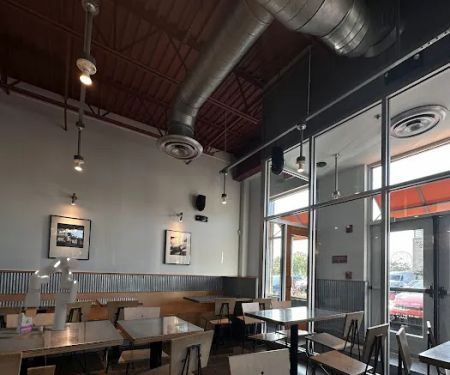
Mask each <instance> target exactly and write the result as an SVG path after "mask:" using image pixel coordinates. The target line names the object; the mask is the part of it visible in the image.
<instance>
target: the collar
mask: <svg viewBox="0 0 450 375" xmlns="http://www.w3.org/2000/svg"><path fill="white" fill-rule="evenodd" d="M36 310H37V308H27V309H26V315H25V317H33V318H36V316H37V315H36Z"/></svg>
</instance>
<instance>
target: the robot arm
mask: <svg viewBox="0 0 450 375" xmlns="http://www.w3.org/2000/svg"><path fill="white" fill-rule="evenodd" d="M78 260H79V259H76V258H74V257H72V256H71V257H70V256H57V257H55V259H53V260H52V262H50V263H49V264H48V265H45V266H43V267H41V268H39V269H37V270H35V272H33V274H32V275H30V278H29V283H28V284H29V285H28V292H27V293H26V296H25V300H24V301H23V302H22V303H21V304H20V305H19V306H20V308H22V310H23V313H24V314H25V315H26V310H27V309H28V308H29V307H30V308H31V307H34V308H35V307H36V308H35V309H37V310H36V316H37V315H38V314H39V310H40V309H41V308H43V306H44V303H43V302H42V301H41V293H40V292H42V289H41V285H46V284H48V283H49V282H50V280H51V278H50V276H49V275H53V274H55V273H57V272H58V271H59V270H61V279H60V283H59V289H60V290H62V291H58V292H56V294H55V296H54V301H55V305H54V314H53V322H52V323H53V324H52V327H50V330H51V331H65V330H67V328H69V327H70V328H71V326H72V325H71V323H70V324H69V323H68V324H66V319H67V318H66V317H67V311H68V309H67V308H68V307H67V304H73V303H75V301H76V299H77V296H78V292H79V291H78V290H79V284H80V283H79V281H78V280H77V279H73V271H72V270H76V269H77V268H78V267H79V265H80V264H79V263H80V262H79V261H78Z"/></svg>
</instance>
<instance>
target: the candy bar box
mask: <svg viewBox="0 0 450 375" xmlns="http://www.w3.org/2000/svg"><path fill="white" fill-rule="evenodd" d="M33 321H34V317H25V314H24V312H20V313H18V315H17V321H16V330H15V334H28V333H32V332H33V331H32V330H33Z"/></svg>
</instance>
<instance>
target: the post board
mask: <svg viewBox="0 0 450 375" xmlns="http://www.w3.org/2000/svg"><path fill="white" fill-rule="evenodd" d="M43 328H44V326H42V325H38V327H37V332H36V333H35V332H29V333H17V334H18V335H17V337H16V340H31V339H45V338H46V339H47V334H48V332H43V331H44V329H43Z"/></svg>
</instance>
